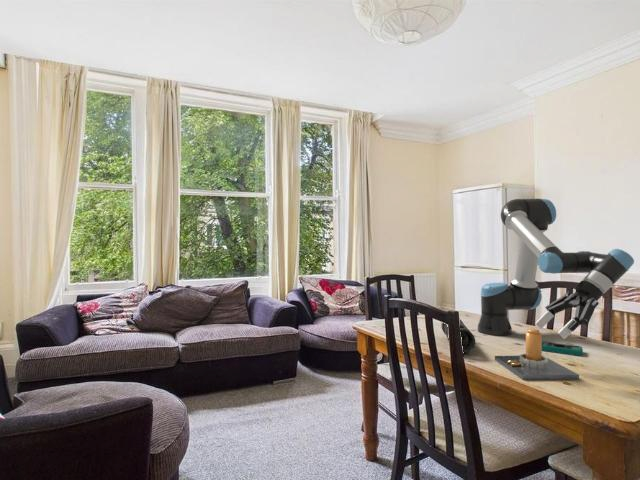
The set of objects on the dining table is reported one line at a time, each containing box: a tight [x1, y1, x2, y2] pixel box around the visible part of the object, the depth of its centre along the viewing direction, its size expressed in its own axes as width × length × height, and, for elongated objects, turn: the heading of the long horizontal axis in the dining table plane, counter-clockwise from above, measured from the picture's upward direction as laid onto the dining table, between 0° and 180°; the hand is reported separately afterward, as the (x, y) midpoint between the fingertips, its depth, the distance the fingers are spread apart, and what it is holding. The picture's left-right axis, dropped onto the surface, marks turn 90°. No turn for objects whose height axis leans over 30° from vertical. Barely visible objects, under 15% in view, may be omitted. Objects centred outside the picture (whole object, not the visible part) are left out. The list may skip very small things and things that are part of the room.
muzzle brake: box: [441, 319, 476, 355], centre depth 162 cm, size 10×28×10 cm, turn 170°
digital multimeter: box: [542, 341, 584, 357], centre depth 153 cm, size 7×15×3 cm, turn 54°
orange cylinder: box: [525, 328, 543, 361], centre depth 132 cm, size 5×5×12 cm
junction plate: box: [494, 353, 580, 381], centre depth 132 cm, size 20×18×4 cm
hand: (549, 330), depth 132 cm, fingers open, 13 cm apart
